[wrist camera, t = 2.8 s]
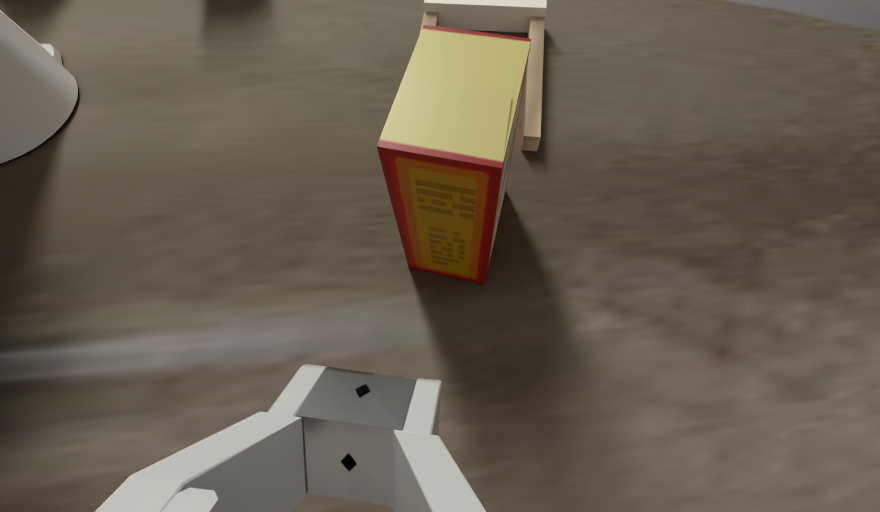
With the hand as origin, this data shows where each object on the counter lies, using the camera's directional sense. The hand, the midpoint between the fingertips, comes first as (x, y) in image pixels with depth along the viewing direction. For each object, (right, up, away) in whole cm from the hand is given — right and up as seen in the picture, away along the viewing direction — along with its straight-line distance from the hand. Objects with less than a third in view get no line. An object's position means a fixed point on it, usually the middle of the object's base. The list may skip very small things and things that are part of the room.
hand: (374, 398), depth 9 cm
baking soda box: (+3, +6, +29) cm, 29 cm away
